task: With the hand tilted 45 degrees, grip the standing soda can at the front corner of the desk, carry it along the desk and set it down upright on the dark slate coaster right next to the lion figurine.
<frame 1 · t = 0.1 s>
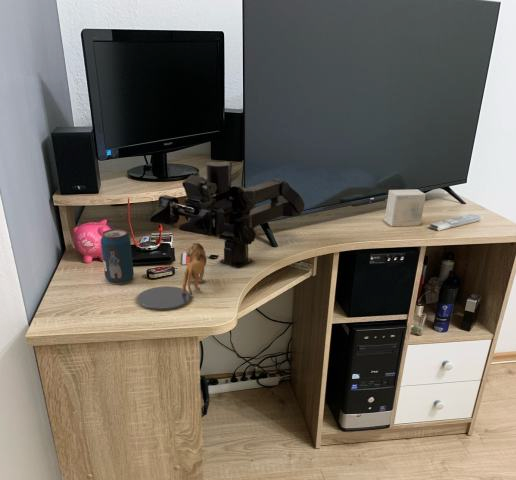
hand: (164, 223, 120), 17 cm above the table, tool horizontal, fingers open, 9 cm apart
soda can: (120, 280, 134), on the table
coaster: (164, 299, 125), on the table
cosmetics box: (402, 224, 180), on the table
lion figurine: (191, 285, 131), on the table, touching coaster
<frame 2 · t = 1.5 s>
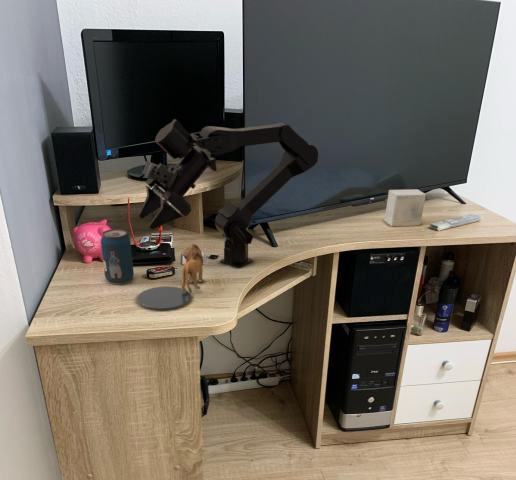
hand: (145, 222, 130), 14 cm above the table, tool tilted 45°, fingers open, 9 cm apart
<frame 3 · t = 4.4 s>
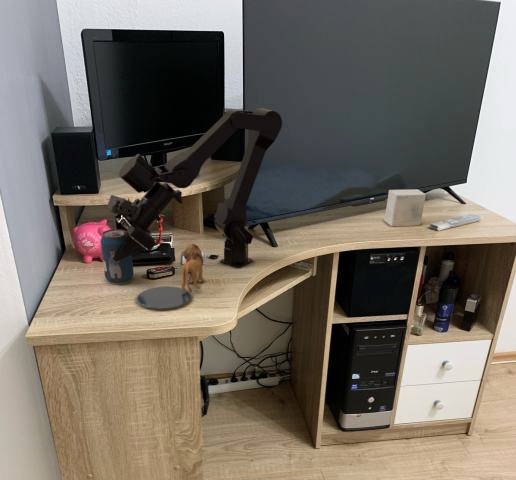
hand: (111, 255, 130), 7 cm above the table, tool tilted 45°, fingers closed on soda can, 7 cm apart
soda can: (119, 280, 134), on the table, touching gripper
everything else where it was.
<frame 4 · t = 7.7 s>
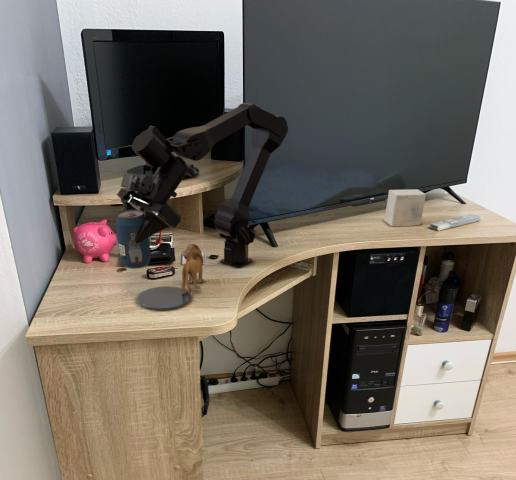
hand: (127, 238, 121), 13 cm above the table, tool tilted 45°, fingers closed on soda can, 7 cm apart
soda can: (136, 265, 126), point 6 cm above the table, touching gripper
everything else where it was.
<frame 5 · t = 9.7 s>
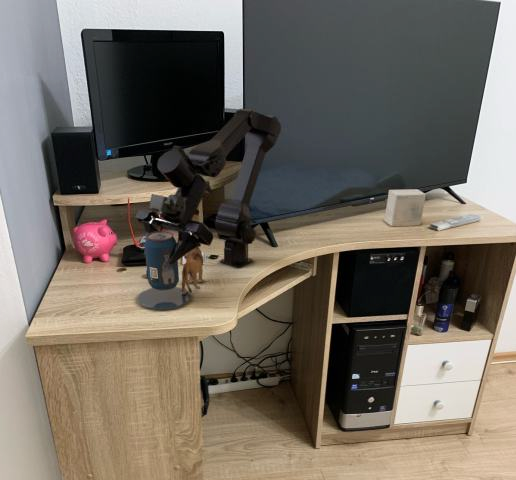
hand: (157, 260, 119), 10 cm above the table, tool tilted 45°, fingers closed on soda can, 7 cm apart
soda can: (164, 286, 124), point 3 cm above the table, touching gripper
everything else where it was.
when the fingers open (7 cm above the table, at t = 11.1 s): soda can stays where it is, resting on coaster.
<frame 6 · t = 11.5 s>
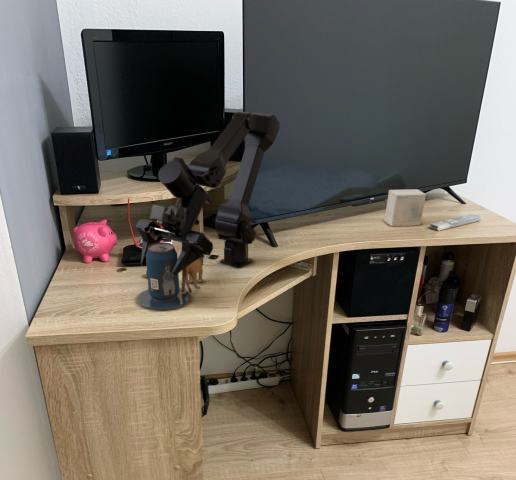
hand: (157, 269, 120), 8 cm above the table, tool tilted 45°, fingers open, 9 cm apart
soda can: (164, 297, 125), resting on coaster
everything else where it was.
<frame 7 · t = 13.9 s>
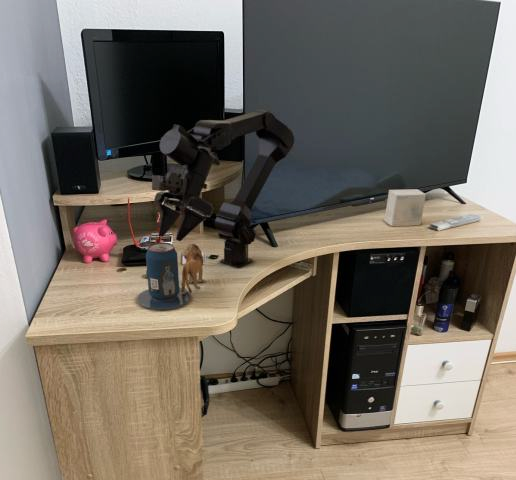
hand: (169, 238, 125), 12 cm above the table, tool tilted 35°, fingers open, 9 cm apart
nothing on the table moved.
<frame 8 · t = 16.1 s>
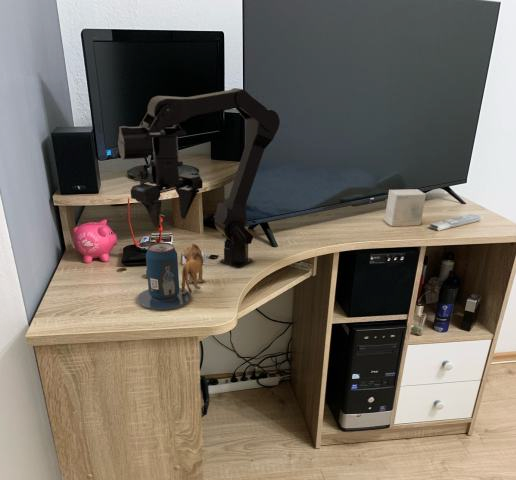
hand: (170, 222, 133), 13 cm above the table, tool pointing down, fingers open, 9 cm apart
nothing on the table moved.
at the end: soda can 0.2 cm off-centre on the coaster, point 0.4 cm above the coaster's base; soda can tilted 0°; soda can 9.2 cm from the lion figurine (horizontally) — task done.
